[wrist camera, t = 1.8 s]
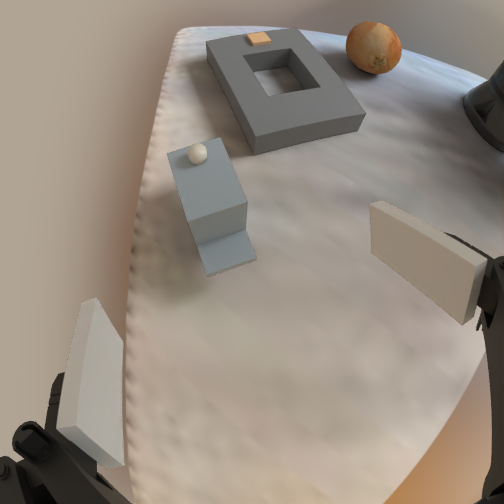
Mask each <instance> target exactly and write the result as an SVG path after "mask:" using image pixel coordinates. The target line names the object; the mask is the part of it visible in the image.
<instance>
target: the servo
mask: <svg viewBox="0 0 504 504" xmlns="http://www.w3.org/2000/svg"><path fill="white" fill-rule="evenodd" d="M167 156H168V160H169V163H170V166H171V170H172V173H173V177H174V180H175V183H176V187H177V190H178V193H179V196H180V200H181V203H182V206H183V209H184V212H185V216H186V219H187V222H188V224H189V227H190V230H191V232H192V235H193V238H194V240H195V243H196V246H197V248H198V251H199V254H200V257H201V260H202V263H203V266H204V269H205V272H206V275H207V277H209V276H212V275H215V274H218V273H221V272H224V271H227V270H230V269H232V268H235V267H238V266H241V265H244V264H247V263H250V262H252V261H255V260H256V259H257V257H256V254H255V252H254V249H253V247H252V244H251V241H250V239H249V236H248V234H247V231H246V218H247V203H248V202H247V199H246V197H245V194H244V192H243V190H242V187H241V185H240V182H239V180H238V178H237V175H236V173H235V170H234V168H233V166H232V163H231V161H230V158H229V156H228V154H227V151H226V149H225V147H224V144H223V142H222V139H221V137H219V138H215V139H212V140H208V141H205V142H202V143H198V144H193V145H191V146H189V147H185V148H182V149H179V150H176V151H173V152H170V153H167Z"/></svg>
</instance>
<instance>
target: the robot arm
mask: <svg viewBox="0 0 504 504" xmlns="http://www.w3.org/2000/svg"><path fill="white" fill-rule="evenodd" d="M464 108H465V111H466V113H467V115H468V117H469V119H470V121H471V122H472V124H473V125H474V127H475V128H476V129H477V131H478V132H479V133H480V134H481V135H482V136H483V137H484V138H485V139H486V140H487V141H488V142H489V143H490V144H491V145H492V146H494V147H495V148H497V149H498V150H500V151H502V152H504V60H503V62H502V63H501V64H500V66H499V67H498V68H497V70H496V71H495V72H494V74H493V75H492V77H491V78H490V79H489V80H488V81H486V82H484V83H482V84H480V85H479V86H477V87H475V88H473V89H471V90H470V91H469V92H468V94H467V95H466V96H465V98H464ZM369 205H370V224H371V253H372V254H373V255H375V256H376V257H377V258H379V259H380V260H381V261H383V262H384V263H385V264H387V265H388V266H389V267H391V268H392V269H393V270H394V271H396V272H397V273H398V274H400V275H401V276H402V277H403V278H405V279H406V280H407V281H409V282H410V283H411V284H412V285H414V286H415V287H416V288H417V289H419V290H420V291H421V292H422V293H424V294H425V295H426V296H427V297H428V298H430V299H431V300H432V301H433V302H435V303H436V304H437V305H438V306H439V307H441V308H442V309H443V310H444V311H445V312H447V313H448V314H449V315H450V316H451V317H453V318H454V319H455V320H456V321H457V322H458V323H460V324H461V325H463V324H465V323H466V322H468V321H469V320H470V319H472V318H473V317H474V313H475V310H476V306H477V305H478V306H479V307H480V308H481V309H482V310H481V314H480V317H479V320H478V323H477V326H476V331H478V330H479V327H480V325H481V324H482V331H483V334H484V340H485V346H486V353H487V361H488V370H489V380H490V392H491V408H492V456H491V467H490V470H489V472H488V474H487V476H486V478H485V482H484V486H483V491H482V499H481V500H479V501H478V502H476V503H474V504H504V256H501V257H498V258H496V259H493V258H492V257H490V256H488V255H487V254H485V253H484V252H482V251H480V250H479V249H477V248H475V247H474V246H470V244H469V243H467V242H464V241H463V240H462V239H460V238H458V237H456V236H455V235H451V234H448V233H445V232H441V231H439V230H438V229H436V228H434V227H432V226H430V225H429V224H427V223H425V222H423V221H421V220H419V219H418V218H416V217H414V216H412V215H410V214H408V213H406V212H404V211H402V210H400V209H398V208H396V207H394V206H392V205H390V204H388V203H386V202H384V201H382V200H380V201H377V202H374V203H371V204H369ZM122 360H123V341H122V340H121V338H120V336H119V335H118V333H117V332H116V330H115V328H114V327H113V325H112V323H111V322H110V320H109V318H108V316H107V315H106V313H105V311H104V310H103V308H102V306H101V304H100V302H99V301H98V299H97V297H95V298H92V299H89V300H87V301H84V302H82V304H81V308H80V311H79V315H78V319H77V322H76V326H75V330H74V334H73V338H72V343H71V347H70V352H69V356H68V361H67V365H66V370H65V372H64V373H60V374H58V376H57V377H56V379H55V381H54V383H53V384H52V389H51V394H50V396H51V397H50V399H49V407H48V410H47V416H46V423H45V429H43V428H42V427H41V426H40V425H38V424H37V423H36V422H34V421H28V422H25V423H23V424H22V425H20V426H19V427H18V429H17V430H16V432H15V434H14V436H13V441H12V446H13V449H14V451H15V452H17V453H18V454H19V455H20V456H22V457H23V458H24V459H23V460H21V461H19V462H17V463H16V462H15V461H14V460H12V459H11V458H10V457H7V456H3V457H0V504H131V503H130V502H129V501H128V500H127V499H126V498H125V497H124V496H123V495H122V494H120V493H119V492H118V491H117V490H116V489H115V488H114V487H113V486H112V485H111V484H110V483H109V482H108V481H107V480H106V479H105V478H104V477H103V476H102V475H101V474H99V473H98V472H97V463H98V464H100V465H101V466H103V467H104V468H105V469H110V468H118V467H124V466H125V464H124V449H123V427H122Z"/></svg>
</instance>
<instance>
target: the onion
mask: <svg viewBox="0 0 504 504" xmlns="http://www.w3.org/2000/svg"><path fill="white" fill-rule="evenodd" d="M401 51H402V49H401V43H400V40H399V38H398V36H397V34H396V33H395V32H394V31H393V30H392V29H391V28H390V27H388V26H386V25H384V24H381V23H377V22H368V21H366V22H362V23H360V24H358V25H356V26H355V27H353V29H352V30H351V31H350V33H349V35H348V37H347V40H346V52H347V54H348V56H349V58H350V60H351V61H352V62H353V63H354V64H355V66H356V67H358V68H359V69H361V70H363V71H366V72H369V73H373V74H382V73H386V72H389V71H390V70H392V69H393V68H394V67H395V66H396V65H397V64H398V62H399V60H400V58H401Z"/></svg>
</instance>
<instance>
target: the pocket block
mask: <svg viewBox="0 0 504 504" xmlns="http://www.w3.org/2000/svg"><path fill="white" fill-rule="evenodd" d="M206 50H207V60H208V62H209V64H210V66H211V68H212V70H213V72H214V74H215V76H216V78H217V80H218V82H219V84H220V86H221V88H222V90H223V92H224V94H225V96H226V98H227V100H228V102H229V104H230V106H231V108H232V110H233V112H234V114H235V116H236V118H237V120H238V122H239V124H240V126H241V128H242V131H243V133H244V135H245V137H246V139H247V141H248V143H249V145H250V147H251V150H252V152H253V154H254V155H257V154H261V153H265V152H269V151H272V150H276V149H280V148H284V147H288V146H292V145H296V144H300V143H304V142H308V141H313V140H317V139H321V138H326V137H330V136H335V135H340V134H344V133H349V132H354V131H358V129H359V127H360V125H361V123H362V121H363V119H364V117H365V115H366V112H365V111H364V110H363V108H362V107H361V105H360V104H359V103H358V101H357V100H356V98H355V97H354V96H353V94H352V93H351V92H350V90H349V89H348V88H347V87H346V85H345V84H344V83H343V81H342V80H341V79H340V78H339V76H338V75H337V74H336V73H335V71H334V70H333V69H332V68H331V66H330V65H329V64H328V63H327V62H326V60H325V59H324V58H323V57H322V56H321V54H320V53H319V52H318V51H317V50H316V49H315V48H314V46H313V45H312V44H311V43H310V42H309V41H308V40H307V39H306V37H305V36H304V35H303V34H302V33H301V32H300V31H299V30H298V29H297V28H291V29H280V30H271V31H263V32H256V33H249V34H242V35H236V36H231V37H225V38H220V39H215V40H210V41H206ZM285 66H288V67H289V68H290V70H291V71H292V73H293V74H294V75H295V77H296V78H297V79H298V81H299V82H300V84H301V85H302V87H303V88H304V89H305V90H301V91H295V92H289V93H284V94H278V95H273V96H267V94H266V92H265V91H264V89H263V87H262V86H261V84H260V82H259V81H258V79H257V78H256V76H255V74H254V73H253V72H255V71H260V70H266V69H272V68H278V67H285Z"/></svg>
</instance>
